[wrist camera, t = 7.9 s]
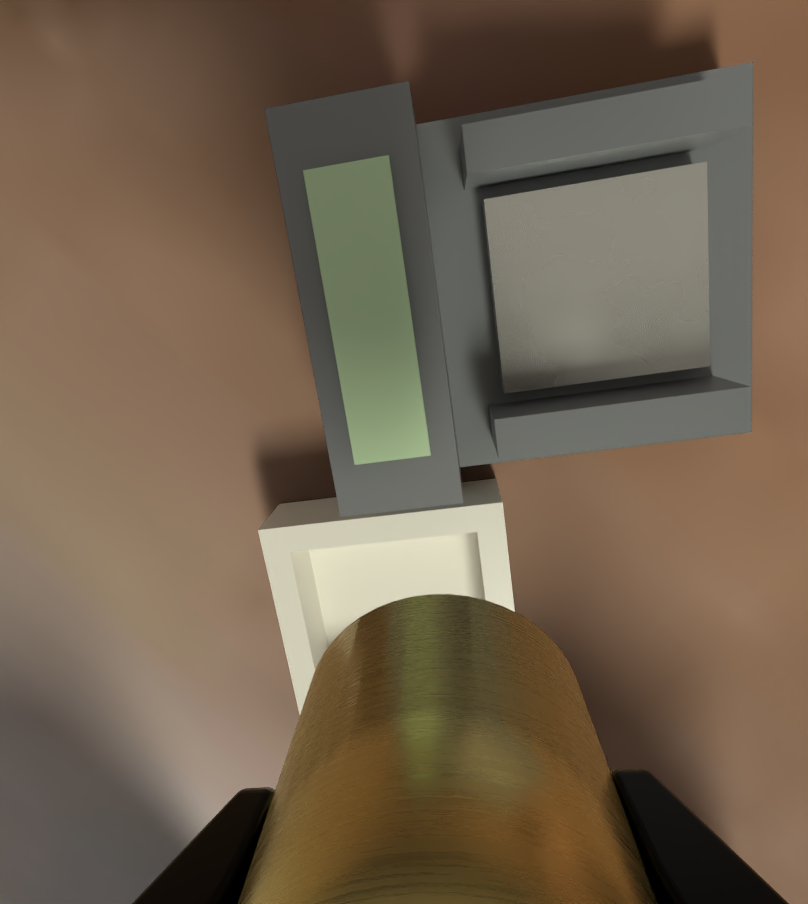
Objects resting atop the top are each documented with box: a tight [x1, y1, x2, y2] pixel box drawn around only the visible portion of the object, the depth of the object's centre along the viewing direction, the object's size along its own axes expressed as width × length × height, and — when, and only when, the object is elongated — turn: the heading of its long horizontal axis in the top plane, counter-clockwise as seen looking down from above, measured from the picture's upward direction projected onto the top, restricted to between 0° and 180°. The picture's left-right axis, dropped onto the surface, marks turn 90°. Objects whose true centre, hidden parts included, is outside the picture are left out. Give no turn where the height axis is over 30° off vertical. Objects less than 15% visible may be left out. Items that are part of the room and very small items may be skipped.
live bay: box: [258, 478, 515, 714], centre depth 18 cm, size 7×7×2 cm
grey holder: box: [264, 62, 753, 517], centre depth 14 cm, size 11×9×5 cm
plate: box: [482, 162, 710, 394], centre depth 15 cm, size 5×5×1 cm
